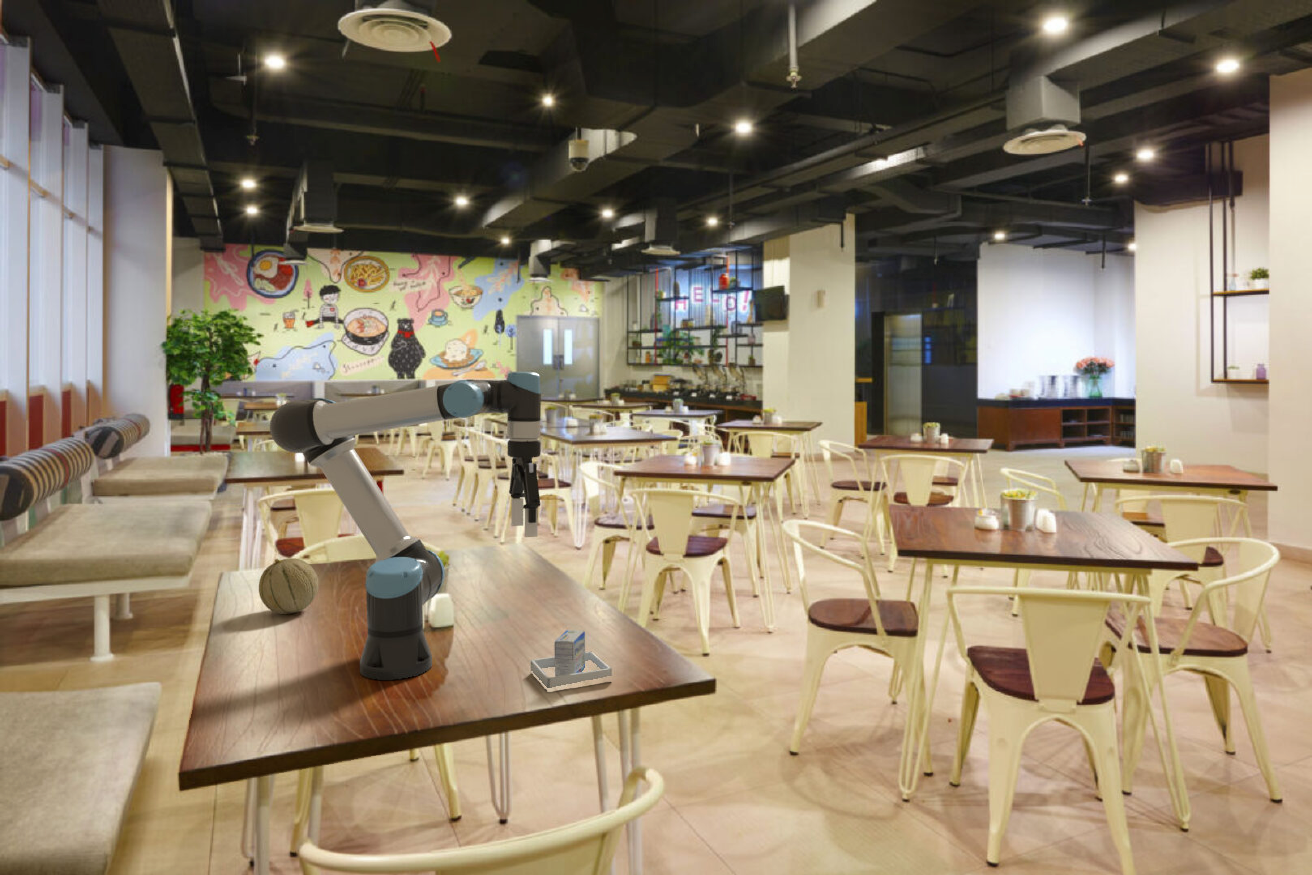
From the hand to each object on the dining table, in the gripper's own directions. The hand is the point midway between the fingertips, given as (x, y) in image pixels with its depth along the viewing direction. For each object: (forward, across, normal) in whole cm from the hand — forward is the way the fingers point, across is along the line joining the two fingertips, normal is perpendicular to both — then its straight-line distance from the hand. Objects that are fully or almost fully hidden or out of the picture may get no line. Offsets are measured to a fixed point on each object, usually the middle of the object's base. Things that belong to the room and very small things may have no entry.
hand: (524, 531), depth 198 cm
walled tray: (+28, -21, -5) cm, 35 cm away
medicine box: (+28, -21, -5) cm, 35 cm away
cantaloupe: (+29, +52, +51) cm, 79 cm away
